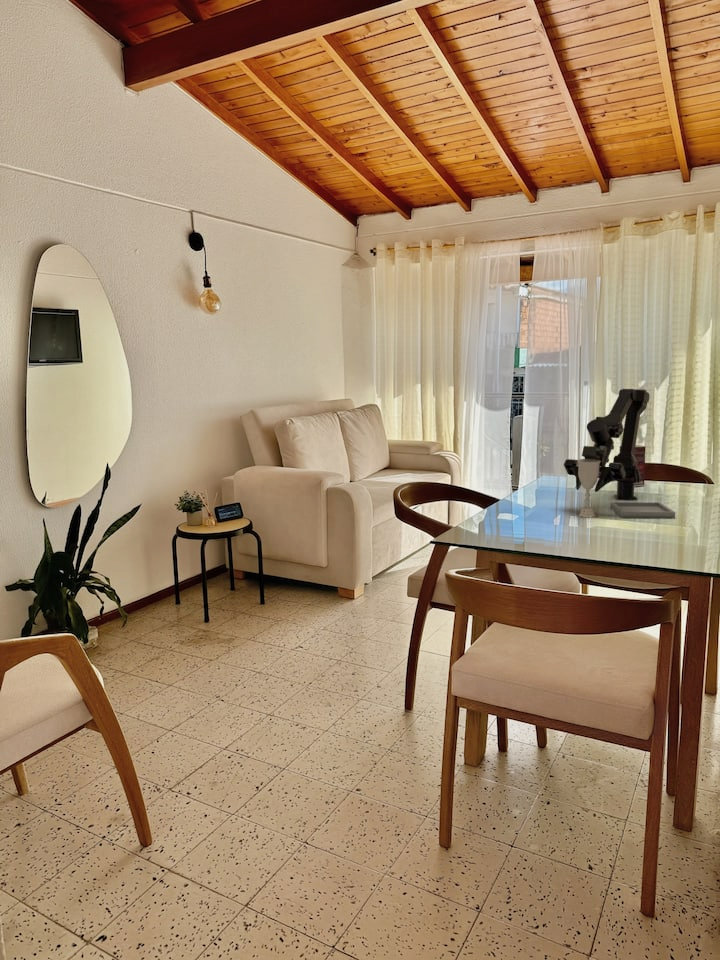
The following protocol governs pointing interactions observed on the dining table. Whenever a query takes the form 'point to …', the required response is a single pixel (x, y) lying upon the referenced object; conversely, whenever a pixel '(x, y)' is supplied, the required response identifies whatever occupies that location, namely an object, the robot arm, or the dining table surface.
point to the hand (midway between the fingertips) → (586, 490)
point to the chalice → (588, 480)
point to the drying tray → (642, 510)
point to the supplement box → (640, 462)
